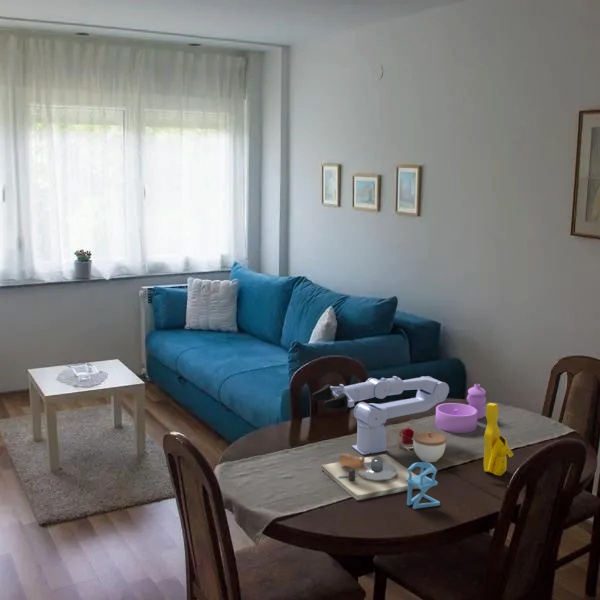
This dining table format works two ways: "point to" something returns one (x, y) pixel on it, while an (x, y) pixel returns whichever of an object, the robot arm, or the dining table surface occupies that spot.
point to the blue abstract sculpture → (421, 485)
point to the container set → (462, 412)
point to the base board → (368, 488)
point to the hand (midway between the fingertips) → (318, 401)
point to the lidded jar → (429, 445)
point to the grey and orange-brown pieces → (369, 467)
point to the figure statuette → (495, 444)
